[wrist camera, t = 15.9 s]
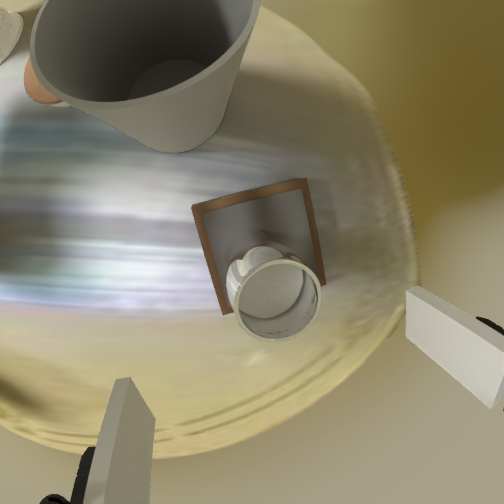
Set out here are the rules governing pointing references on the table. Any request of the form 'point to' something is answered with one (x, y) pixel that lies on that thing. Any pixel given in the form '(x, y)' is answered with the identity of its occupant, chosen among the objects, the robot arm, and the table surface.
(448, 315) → the robot arm
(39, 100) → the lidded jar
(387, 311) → the table surface
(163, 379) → the table surface
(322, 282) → the walnut stand
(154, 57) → the cylinder vase
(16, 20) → the decorative container
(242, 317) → the beer glass
